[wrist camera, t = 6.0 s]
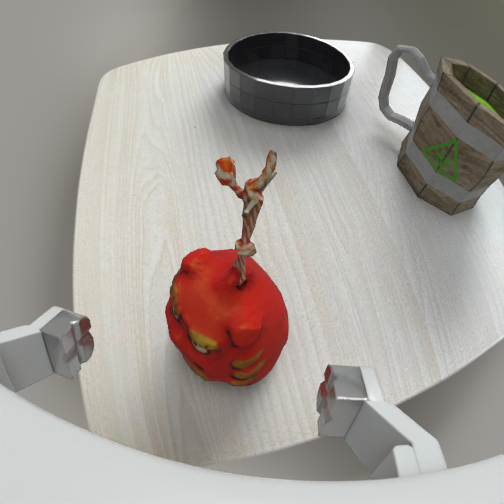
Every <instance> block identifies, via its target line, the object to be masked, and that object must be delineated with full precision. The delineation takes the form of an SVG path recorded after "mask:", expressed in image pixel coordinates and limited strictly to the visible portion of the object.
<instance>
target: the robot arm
mask: <svg viewBox="0 0 504 504" xmlns="http://www.w3.org/2000/svg"><path fill="white" fill-rule="evenodd" d="M90 328H91V324H90V320H89V318H87V317H86V316H83V315H80V314H77V313H75V312H72V311H69V310H65V309H62V308H60V307H57V306H55V307H52V308H51V309H49V310H48V311H47V312H45V313H44V314H43V315H42V316H41V317H39V318H38V319H37V320H36V321H35V322H33V323H32V324H31V325H30V326H27V325H25V326H20V327H17V328H13V329H9V330H5V331H1V332H0V504H504V454H501V455H498V456H495V457H492V458H488V459H485V460H482V461H478V462H475V463H471V464H467V465H463V466H459V467H455V468H450V469H448V468H447V466H446V462H445V459H444V457H443V454H442V451H441V448H440V445H439V443H438V441H437V440H436V439H435V438H434V437H433V436H431V435H430V434H429V433H428V432H426V431H425V430H424V429H423V428H421V427H420V426H419V425H418V424H417V423H415V422H414V421H413V420H412V419H411V418H409V417H408V416H407V415H406V414H404V413H403V412H402V411H401V410H400V409H398V408H397V407H396V406H395V405H394V404H392V403H391V402H390V401H385V399H384V396H383V393H382V390H381V387H380V383H379V381H378V378H377V375H376V372H375V369H374V368H373V367H365V366H358V367H356V366H342V365H330V364H328V366H327V368H326V370H325V373H324V376H325V381H324V382H322V383H321V384H320V387H319V390H318V394H317V402H316V407H317V411H318V412H319V414H320V416H319V418H318V420H317V422H318V436H321V437H337V438H344V440H345V441H346V442H347V444H348V445H349V446H350V448H351V449H352V450H353V452H354V453H355V454H356V455H357V457H358V458H359V459H360V461H361V462H362V463H363V464H364V466H365V467H366V468H367V470H368V471H369V472H370V473H371V476H370V477H369V478H368V480H361V481H301V480H285V479H273V478H264V477H255V476H247V475H240V474H234V473H228V472H222V471H217V470H212V469H207V468H202V467H197V466H193V465H189V464H185V463H181V462H177V461H173V460H169V459H165V458H162V457H158V456H155V455H152V454H149V453H145V452H142V451H139V450H136V449H133V448H130V447H127V446H125V445H122V444H119V443H116V442H114V441H111V440H109V439H106V438H104V437H101V436H99V435H96V434H94V433H91V432H89V431H87V430H85V429H82V428H80V427H77V426H76V425H73V424H71V423H69V422H67V421H65V420H63V419H61V418H59V417H57V416H55V415H53V414H51V413H49V412H47V411H45V410H44V409H42V408H40V407H38V406H36V405H34V404H33V403H31V402H29V401H28V400H26V399H24V398H22V397H21V396H19V395H17V394H16V392H18V391H19V390H22V389H24V388H26V387H28V386H30V385H32V384H34V383H36V382H38V381H40V380H42V379H44V378H46V377H48V376H50V375H52V374H54V373H56V374H59V375H61V376H64V377H66V378H69V379H71V380H72V379H73V378H74V377H75V376H76V374H77V373H78V372H79V371H80V370H81V364H82V363H84V362H87V361H88V360H89V359H90V357H91V356H92V353H93V350H94V340H93V337H92V335H91V334H90V332H89V330H90Z"/></svg>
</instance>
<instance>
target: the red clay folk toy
mask: <svg viewBox="0 0 504 504" xmlns="http://www.w3.org/2000/svg"><path fill="white" fill-rule="evenodd" d="M276 159H277V153H276V151H272V150H270V152H269V154H268V156H267V161H266V167H265V168H264V169H263V170H262V174H261V175H260V176H259V177H258V178H255V179H249V180H248V181H246V182H245V187H244V190H243V189H241V188H240V187H239V186H238V184H237V182H236V180H235V178H236V170H235V165H234V163H235V161H234V160H233V159H231V158H230V157H227V158H221V159H219V160H217V162H216V166H217V170H216V172H215V175H216V177H217V179H218V180H219V182H220V183H221V184H222V185H226V186H229V187H230V188H231V189H232V190H233V191H234V192H235V193H236V195H237V197H238V198H240V199H242V200H243V202H244V208H243V213H242V217H243V229H242V238H241V239H239V240H237V241H236V244H235V250H233V249H228V250H214V251H210V250H208V249H206V248H201V249H197V250H195V251H193V252H190V253H189V254H188V255H187V256H185V257H184V258H183V260H182V263H181V268H180V269H179V271H178V272H177V274H176V275H175V276H174V278H173V281H172V286H171V287H170V298H169V301H168V303H167V305H166V310H165V314H166V319H167V324H168V329H169V335H170V339H171V340H172V341H173V343H174V344H175V346H176V347H177V348H178V349H179V350H180V352H181V353H182V355H183V357H184V359H185V361H186V363H187V364H188V365H189V367H190V368H191V369H192V370H193V371H194V373H196V374H197V375H199V376H200V377H201V378H202V379H204V380H205V381H221V382H226V383H229V384H231V385H233V386H247V385H251V384H254V383H256V382H258V381H259V380H261V379H262V378H263V377H265V376H266V375H267V374H268V373H269V372H270V371H271V369H272V368H273V366H274V365H275V363H276V361H277V359H278V358H279V356H280V353H281V351H282V349H283V347H284V345H285V344H286V342H287V339H288V314H287V309H286V306H285V303H284V300H283V297H282V295H281V293H280V291H279V289H278V288H277V286H276V285H275V283H274V282H273V281H272V280H271V278H270V277H269V276H268V274H267V273H266V272H265V271H264V270H263V269H262V268H261V267H260V266H259V265H258V264H257V263H256V262H255V261H254V260H253V259H252V258H251V257H250V256H254V254H255V253H256V248H255V245H254V243H252V242H250V238H251V235H252V233H253V230H254V228H255V224H256V219H257V217H258V214H259V212H260V209H261V207H262V204H263V199H264V197H263V195H262V192H263V191H264V189H265V188H266V187H267V185H268V184H269V183H270V181H271V180H272V179H273V178H274V176H275V175H276V174H277V173H276V172H274V170H275V167H276Z"/></svg>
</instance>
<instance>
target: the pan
mask: <svg viewBox="0 0 504 504" xmlns="http://www.w3.org/2000/svg"><path fill="white" fill-rule="evenodd" d="M223 57H224V76H225V91H226V95H227V97H228V99H229V100H230V102H231V103H232V104H233V105H234V106H235V107H236V108H238V109H239V110H240V111H242V112H244V113H245V114H247V115H249V116H252V117H254V118H257V119H260V120H263V121H267V122H271V123H276V124H283V125H311V124H317V123H322V122H325V121H328V120H330V119H332V118H334V117H335V116H337V115H338V114H339V113H340V112H341V111H342V110H343V108H344V106H345V102H346V99H347V96H348V93H349V89H350V86H351V82H352V78H353V75H354V71H355V69H354V65H353V62H352V60H351V59H350V58H349V56H348V55H347V54H346V53H344V52H343V51H342V50H341V49H339V48H338V47H336V46H334V45H332V44H330V43H328V42H326V41H323V40H321V39H318V38H315V37H311V36H308V35H304V34H299V33H291V32H262V33H255V34H251V35H247V36H244V37H242V38H239V39H237V40H234V41H233V42H232V43H230V44H229V45H228V46H227V47H226V49H225V51H224V53H223Z"/></svg>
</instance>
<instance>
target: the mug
mask: <svg viewBox="0 0 504 504" xmlns="http://www.w3.org/2000/svg"><path fill="white" fill-rule="evenodd" d="M403 52H408V53H410V54H411V56H412V57H413V58H414V59H415V60H416V62H417V65H418V68H419V70H420V72H421V74H422V76H423V78H424V79H425V80H426V81H428V82H429V83H430V84H431V87H430V89H429V91H428V92H427V94H426V96H425V97H424V99H423V101H422V102H421V105H420V108H419V111H418V114H417V117H416V120H415V122H414V121H412V120H410V119H408V118H406V117H405V116H402V115H399V114H397V113H394V112H393V110H392V109H391V108H390V106H389V98H388V96H389V93H390V90H391V86H392V84H393V81H394V78H395V75H396V69H397V63H398V59H399V57H400V56H401V54H402V53H403ZM378 98H379V107H380V110H381V112H382V113H383V114H384V116H385V117H386V118H387V119H388V120H390V121H392V122H394V123H397V124H399V125H400V126H402V127H404V128H406V129H407V130H409V131H410V132H409V133H408V135H407V136H406V137H405V139H404V140H403V142H402V144H401V149H400V153H399V158H398V162H397V166H398V167H399V169H400V170H401V172H402V173H403V175H404V176H405V178H406V179H407V181H408V182H409V184H410V185H411V187H412V188H413V190H414V192H415V193H416V195H417V196H418V197H419V198H421V199H423V200H425V201H427V202H428V203H430V204H432V205H434V206H436V207H437V208H439V209H441V210H443V211H444V212H446V213H448V214H450V215H453V214H456V213H459V212H462V211H465V210H468V209H471V208H473V207H474V205H475V204H476V202H477V201H478V199H479V198H480V196H481V195H482V194H483V193H484V192H485V191H486V190H487V188H488V187H489V186H490V185H491V184H492V183H493V182H495V181H496V180H497V179H498V178H499V177H500V176H501V175H502V174H503V172H504V88H503V87H502V86H501V85H500V84H499V83H498V82H497V81H495V80H494V79H492V78H490V77H489V76H488V75H486V74H484V73H483V72H481V71H480V70H478V69H477V68H475V67H473V66H472V65H470V64H469V63H467V62H465V61H460V60H455V59H451V58H446V57H441V60H440V63H439V67H438V70H437V74H436V76H435V75H434V74H433V73H432V72H431V70H430V68H429V66H428V64H427V61H426V58H425V57H424V55H423V54H422V53H421V52H420V51H419V50H418V49H417V48H416V47H412V46H405V45H398V46H397V47H396V48H395V49H394V51H393V52H392V53H391V54H390V55H389V57H388V61H387V66H386V72H385V76H384V79H383V82H382V85H381V89H380V93H379V96H378Z"/></svg>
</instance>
